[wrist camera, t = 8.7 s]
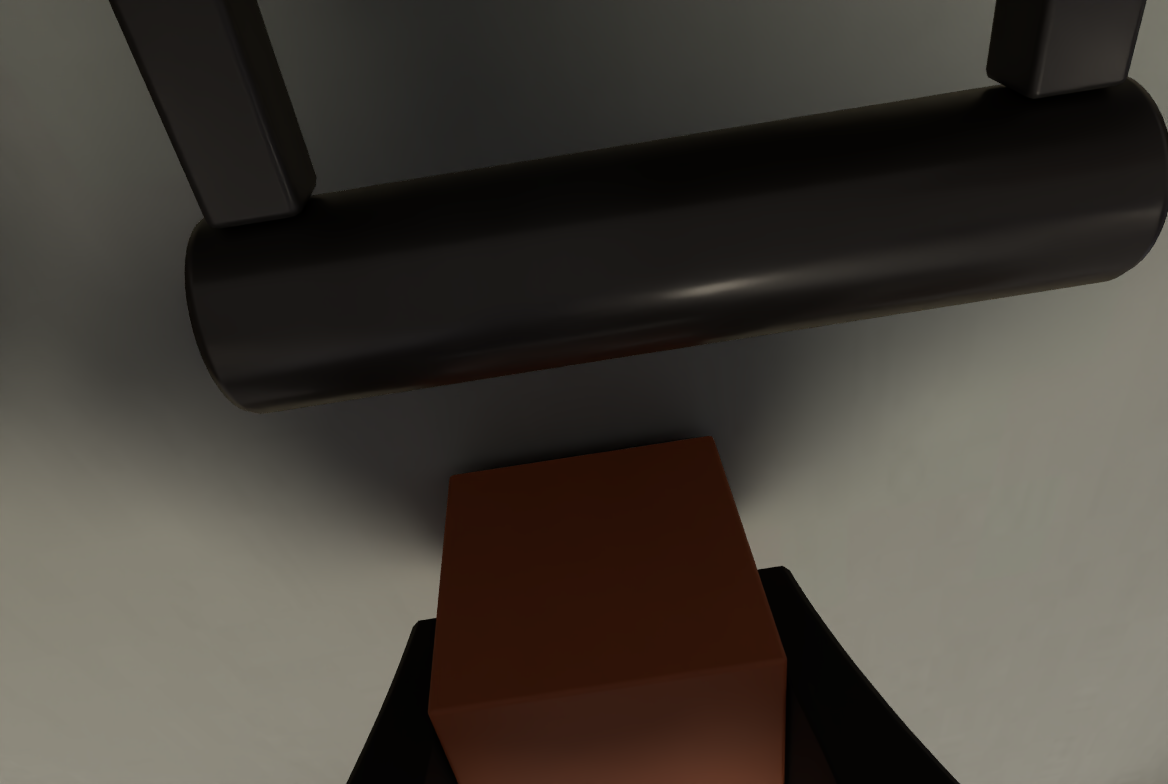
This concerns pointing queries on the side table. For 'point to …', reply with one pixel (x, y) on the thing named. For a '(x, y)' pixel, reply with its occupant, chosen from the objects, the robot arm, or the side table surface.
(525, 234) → the drawer
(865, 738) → the robot arm
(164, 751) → the side table surface
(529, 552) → the block
